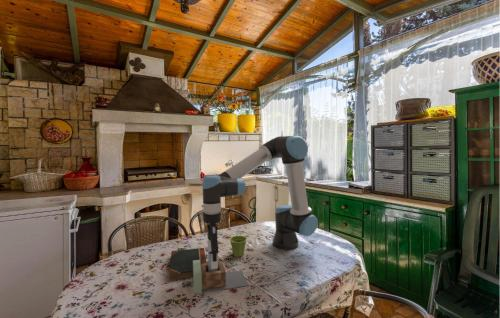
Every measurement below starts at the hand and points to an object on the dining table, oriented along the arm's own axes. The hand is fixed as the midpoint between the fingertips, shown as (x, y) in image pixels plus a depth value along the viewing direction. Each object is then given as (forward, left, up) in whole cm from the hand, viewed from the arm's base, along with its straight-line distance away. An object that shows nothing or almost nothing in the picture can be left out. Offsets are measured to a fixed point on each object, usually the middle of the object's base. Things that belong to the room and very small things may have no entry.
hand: (212, 260), depth 107 cm
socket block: (0, 0, -10) cm, 10 cm away
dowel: (0, 0, -8) cm, 8 cm away
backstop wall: (+7, 0, -10) cm, 12 cm away
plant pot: (-16, -24, -10) cm, 31 cm away
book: (+10, -19, -10) cm, 24 cm away
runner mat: (-4, 0, -10) cm, 11 cm away
